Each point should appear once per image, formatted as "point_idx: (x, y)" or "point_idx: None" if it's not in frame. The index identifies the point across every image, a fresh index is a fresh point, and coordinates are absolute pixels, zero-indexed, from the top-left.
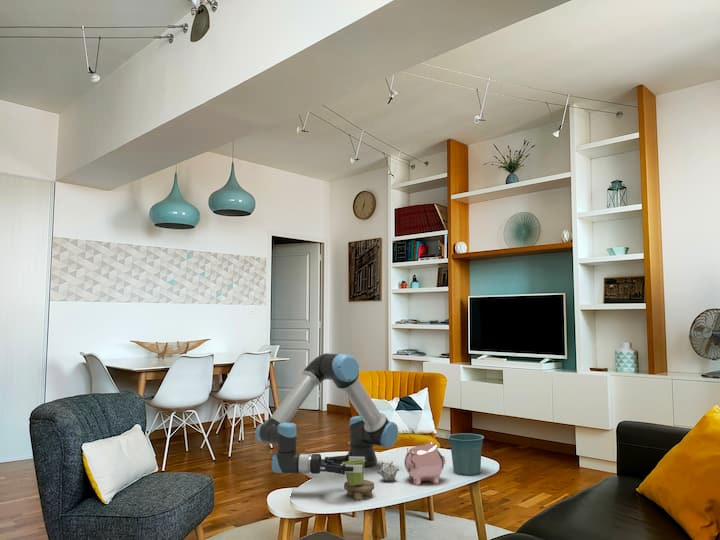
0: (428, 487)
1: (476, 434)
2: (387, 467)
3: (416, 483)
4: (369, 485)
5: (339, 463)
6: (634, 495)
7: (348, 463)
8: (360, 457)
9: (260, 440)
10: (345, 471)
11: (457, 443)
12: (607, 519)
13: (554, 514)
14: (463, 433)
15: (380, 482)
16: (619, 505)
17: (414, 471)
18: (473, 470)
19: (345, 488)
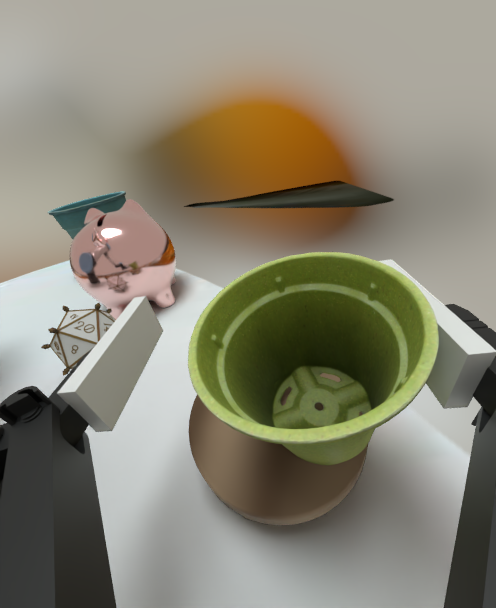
0: (197, 286)
1: (82, 200)
2: (98, 321)
3: (172, 300)
4: None
5: (101, 547)
6: (247, 197)
7: (434, 321)
8: (134, 314)
9: None
10: (469, 399)
11: (106, 208)
12: (320, 193)
13: (318, 204)
14: (57, 208)
15: None
16: (276, 196)
17: (161, 275)
18: None
19: (340, 499)
